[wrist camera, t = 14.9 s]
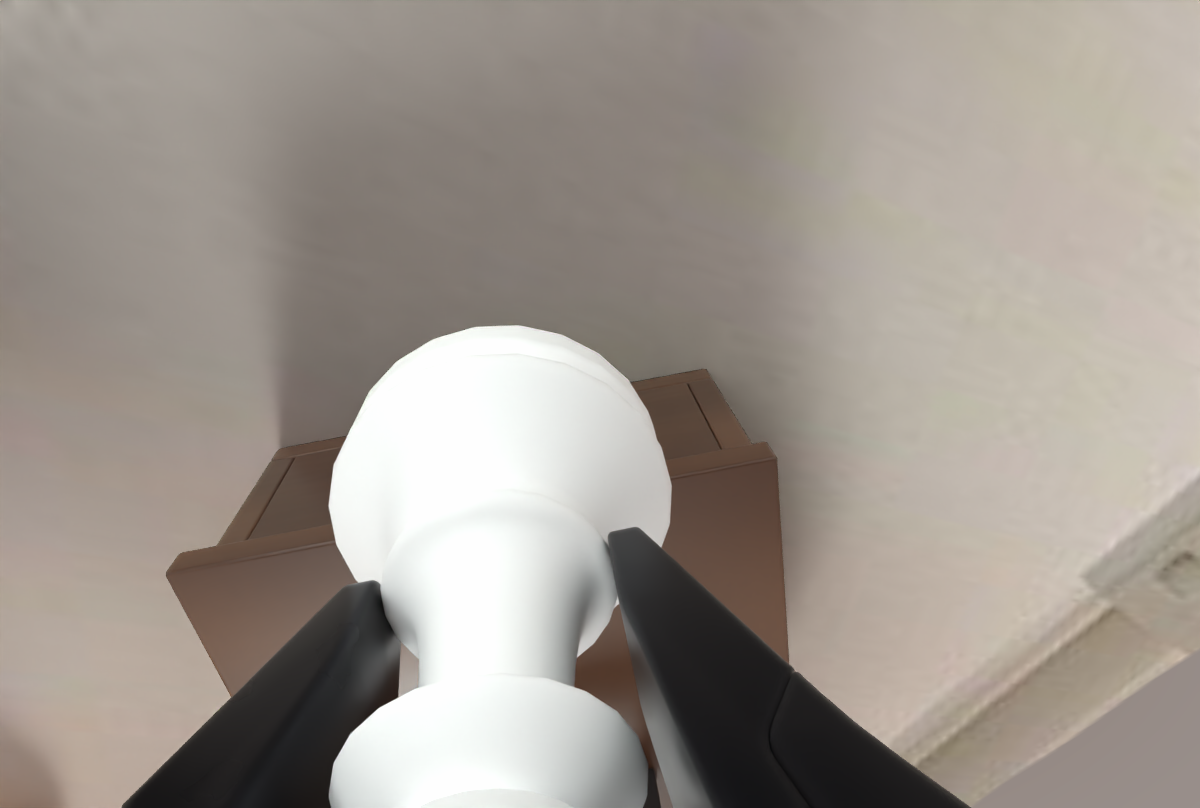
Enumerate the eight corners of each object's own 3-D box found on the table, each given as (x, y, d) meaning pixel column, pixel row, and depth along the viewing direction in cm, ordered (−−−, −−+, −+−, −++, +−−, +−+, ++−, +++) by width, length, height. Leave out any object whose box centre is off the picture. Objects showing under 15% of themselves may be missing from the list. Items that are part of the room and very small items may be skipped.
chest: (277, 447, 22) (193, 578, 16) (706, 367, 22) (769, 468, 17) (414, 777, 29) (387, 950, 23) (741, 712, 29) (794, 868, 24)
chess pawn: (283, 449, 11) (-319, 1403, 3) (524, 252, 10) (525, 912, 2) (493, 627, 13) (446, 1497, 5) (712, 476, 12) (1071, 1255, 4)
